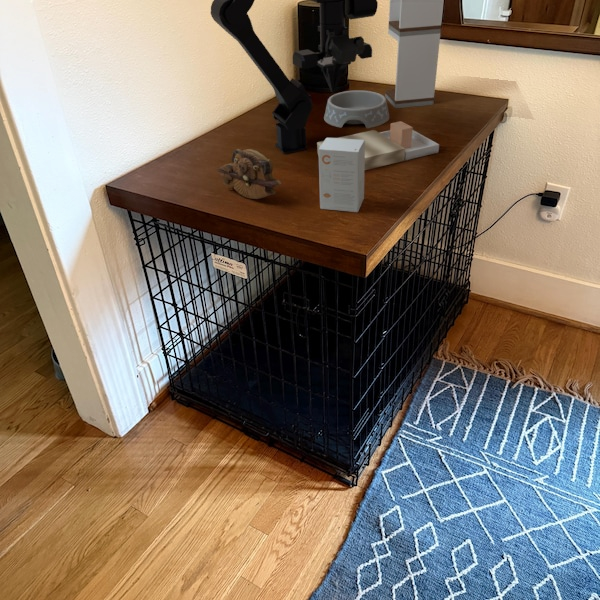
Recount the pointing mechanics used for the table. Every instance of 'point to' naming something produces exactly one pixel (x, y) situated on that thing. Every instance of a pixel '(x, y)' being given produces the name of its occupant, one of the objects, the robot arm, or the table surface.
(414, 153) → the bin
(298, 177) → the table surface
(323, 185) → the small box
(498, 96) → the table surface
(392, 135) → the tall peach block
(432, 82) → the banded white pillar
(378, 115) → the dog bowl
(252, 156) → the wooden carving
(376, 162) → the platform
